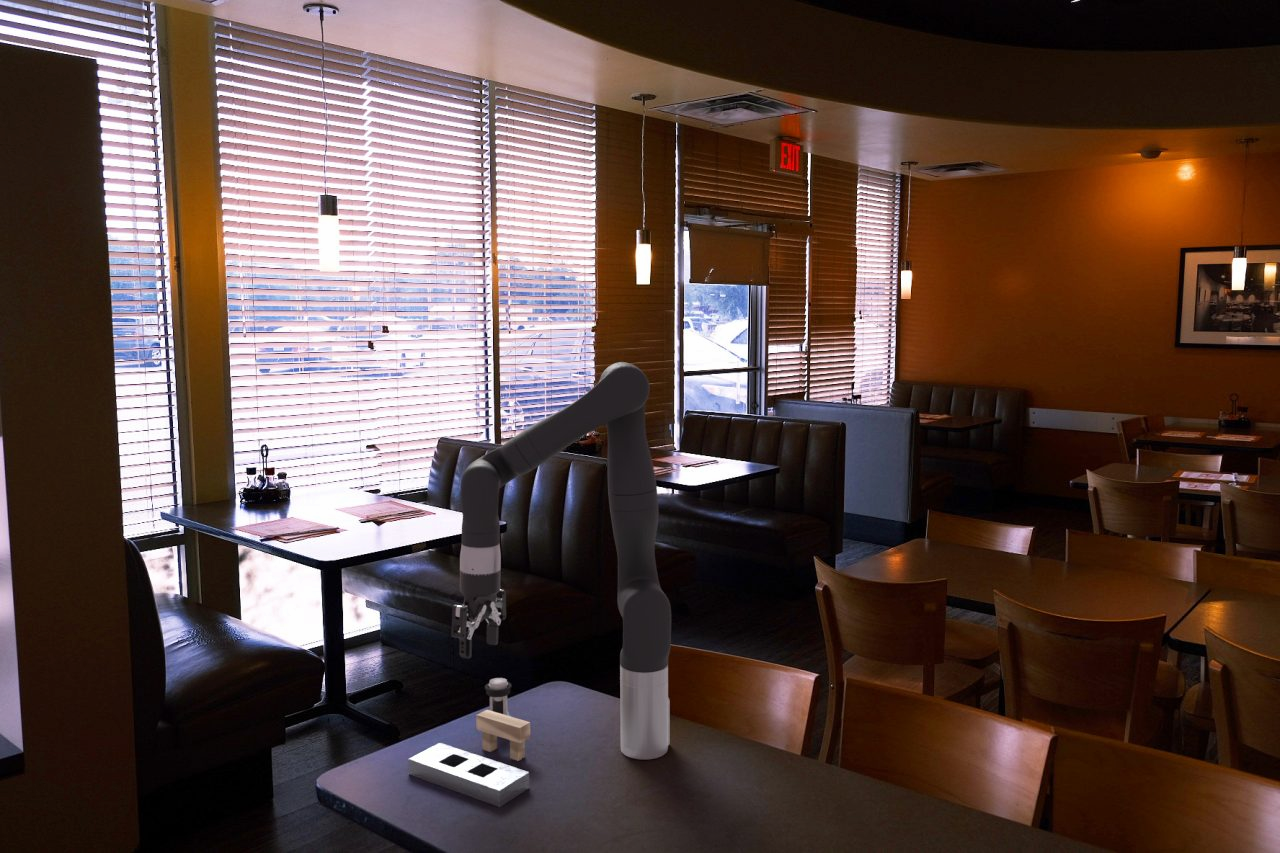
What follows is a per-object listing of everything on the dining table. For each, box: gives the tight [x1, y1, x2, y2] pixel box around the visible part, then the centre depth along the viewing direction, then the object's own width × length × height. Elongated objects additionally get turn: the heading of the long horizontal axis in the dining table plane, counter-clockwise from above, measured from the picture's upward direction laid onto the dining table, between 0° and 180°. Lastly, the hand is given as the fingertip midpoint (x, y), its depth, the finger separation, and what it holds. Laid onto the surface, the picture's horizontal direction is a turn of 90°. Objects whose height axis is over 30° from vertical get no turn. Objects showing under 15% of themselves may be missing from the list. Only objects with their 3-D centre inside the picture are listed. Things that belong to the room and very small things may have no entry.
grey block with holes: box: [408, 742, 530, 808], centre depth 175 cm, size 8×22×3 cm, turn 57°
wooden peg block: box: [475, 709, 531, 762], centre depth 186 cm, size 3×11×7 cm, turn 57°
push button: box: [484, 677, 512, 717], centre depth 197 cm, size 7×5×10 cm
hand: (479, 650), depth 183 cm, fingers open, 8 cm apart
